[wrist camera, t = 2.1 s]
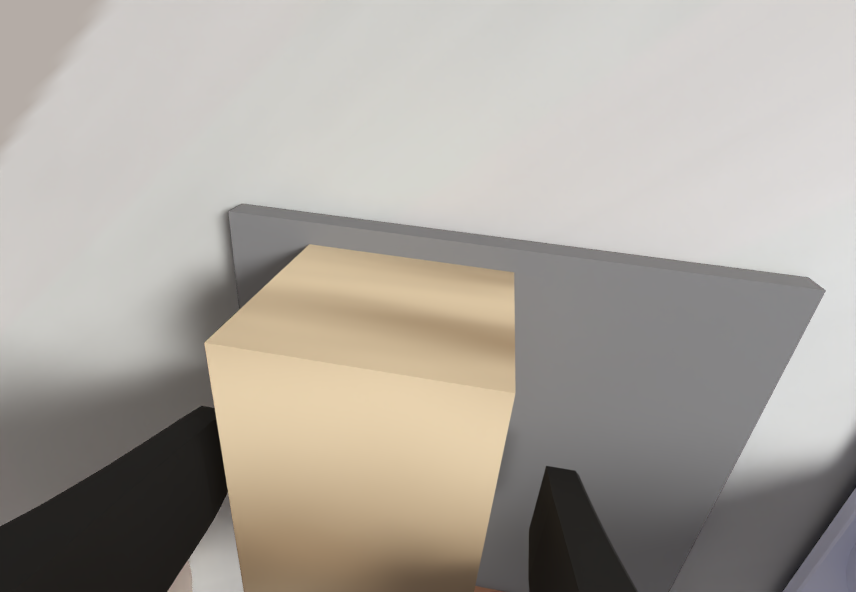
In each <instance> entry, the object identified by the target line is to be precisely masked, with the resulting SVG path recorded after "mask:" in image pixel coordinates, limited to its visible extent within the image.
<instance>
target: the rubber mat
mask: <svg viewBox="0 0 856 592" xmlns="http://www.w3.org/2000/svg"><path fill="white" fill-rule="evenodd" d="M228 214H229V223H230V231H231V240H232V249H233V257H234V266H235V275H236V284H237V292H238V301H239V310H240V309H241V308H242V307H243V306H244V305H245V304H246V303H247V302H248V301H249V300H250V299H252V298H253V297H254V296H255V295H256V294H257V293H258V292H259V291H260V290H261V289H262V288H263V287H264V286H265V285H266V284H268V283H269V282H270V281H271V280H272V279H273V278H274V277H275V276H276V275H277V274H278V273H279V272H280V271H281V270H283V269H284V268H285V267H286V266H287V265H288V264H289V263H290V262H291V261H292V260H293V259H294V258H295V257H296V256H297V255H299V254H300V253H301V252H302V251H303V250H304V249H305V248H306V247H307V246H308V245H309V244H311V245H319V246H326V247H333V248H340V249H348V250H355V251H362V252H370V253H377V254H384V255H391V256H399V257H406V258H413V259H421V260H428V261H435V262H442V263H450V264H457V265H464V266H472V267H479V268H486V269H493V270H501V271H508V272H514V301H515V398H514V403H513V408H512V412H511V417H510V422H509V427H508V432H507V436H506V441H505V446H504V451H503V456H502V460H501V465H500V470H499V475H498V479H497V484H496V489H495V494H494V499H493V503H492V508H491V513H490V518H489V523H488V527H487V532H486V537H485V542H484V546H483V551H482V556H481V561H480V566H479V570H478V575H477V580H476V585H475V586H478V587H483V588H488V589H493V590H498V591H503V592H529V581H528V559H529V527H530V524H531V520H532V516H533V513H534V509H535V505H536V502H537V498H538V494H539V490H540V487H541V483H542V479H543V476H544V472H545V468H546V466H551V467H557V468H563V469H568V470H574V471H576V472H577V473H578V475H579V476H580V479H581V481H582V483H583V485H584V488H585V490H586V492H587V494H588V497H589V499H590V501H591V503H592V505H593V507H594V509H595V511H596V514H597V516H598V518H599V520H600V522H601V524H602V526H603V528H604V530H605V532H606V534H607V536H608V538H609V539H610V541H611V543H612V545H613V547H614V549H615V551H616V553H617V555H618V556H619V558H620V560H621V562H622V564H623V565H624V567H625V569H626V571H627V573H628V575H629V576H630V578H631V580H632V582H633V584H634V585H635V587H636V589H637V591H638V592H669V591H670V589H671V587H672V585H673V583H674V581H675V579H676V577H677V575H678V573H679V571H680V569H681V568H682V566H683V564H684V562H685V560H686V558H687V556H688V554H689V552H690V550H691V548H692V546H693V544H694V543H695V541H696V539H697V537H698V535H699V533H700V531H701V529H702V527H703V525H704V523H705V521H706V520H707V518H708V516H709V514H710V512H711V510H712V508H713V506H714V504H715V502H716V500H717V498H718V496H719V495H720V493H721V491H722V489H723V487H724V485H725V483H726V481H727V479H728V477H729V475H730V473H731V472H732V470H733V468H734V466H735V464H736V462H737V460H738V458H739V456H740V454H741V452H742V450H743V448H744V447H745V445H746V443H747V441H748V439H749V437H750V435H751V433H752V431H753V429H754V427H755V425H756V424H757V422H758V420H759V418H760V416H761V414H762V412H763V410H764V408H765V406H766V404H767V402H768V401H769V399H770V397H771V395H772V393H773V391H774V389H775V387H776V385H777V383H778V381H779V379H780V377H781V376H782V374H783V372H784V370H785V368H786V366H787V364H788V362H789V360H790V358H791V356H792V354H793V353H794V351H795V349H796V347H797V345H798V343H799V341H800V339H801V337H802V335H803V333H804V331H805V329H806V328H807V326H808V324H809V322H810V320H811V318H812V316H813V314H814V312H815V310H816V308H817V306H818V305H819V303H820V301H821V299H822V297H823V295H824V293H825V291H826V290H824V289H823V288H822V287H820V286H819V285H818V284H816V283H815V282H814V281H812V280H811V279H810V278H808V277H800V276H793V275H785V274H777V273H770V272H762V271H754V270H747V269H739V268H731V267H724V266H716V265H708V264H701V263H693V262H685V261H678V260H670V259H662V258H654V257H647V256H639V255H631V254H624V253H616V252H608V251H601V250H593V249H585V248H578V247H570V246H562V245H555V244H547V243H539V242H532V241H524V240H516V239H509V238H501V237H493V236H486V235H478V234H470V233H463V232H455V231H447V230H440V229H432V228H424V227H417V226H409V225H401V224H394V223H386V222H378V221H371V220H363V219H355V218H348V217H340V216H332V215H325V214H317V213H309V212H302V211H294V210H286V209H279V208H271V207H263V206H256V205H248V204H241V205H239V206H237V207H235V208H234V209H232V210H230V211H228Z"/></svg>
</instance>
